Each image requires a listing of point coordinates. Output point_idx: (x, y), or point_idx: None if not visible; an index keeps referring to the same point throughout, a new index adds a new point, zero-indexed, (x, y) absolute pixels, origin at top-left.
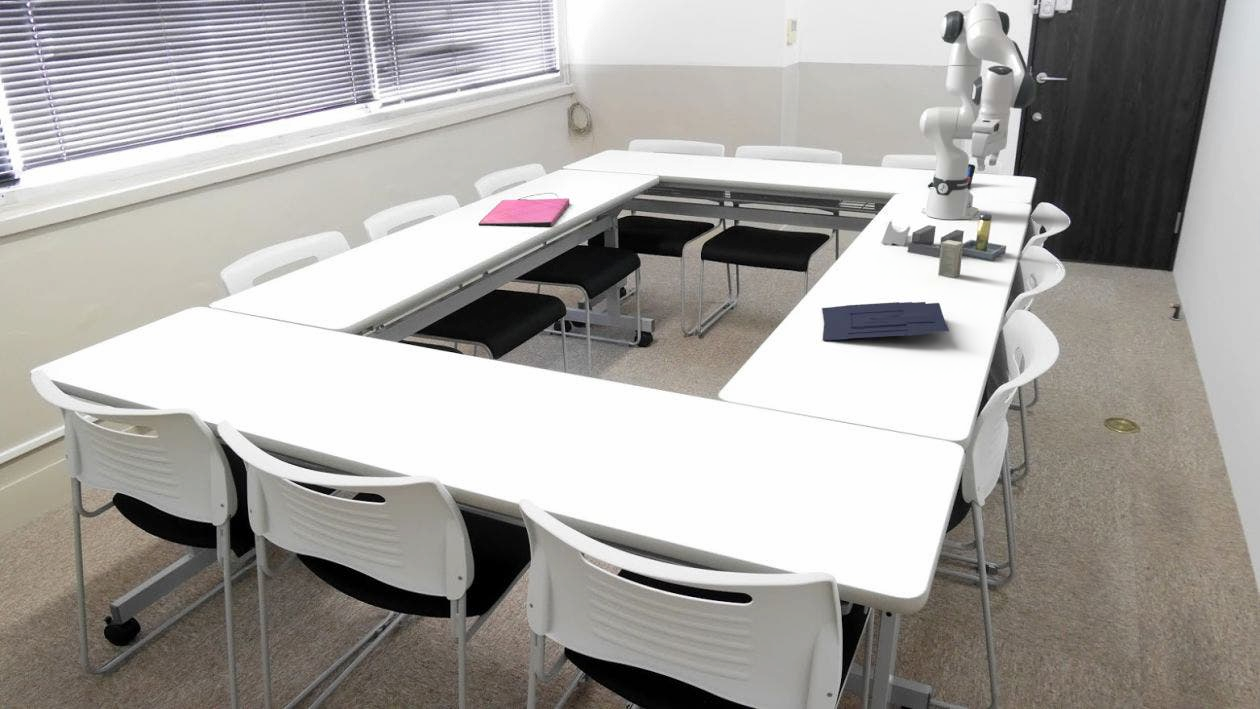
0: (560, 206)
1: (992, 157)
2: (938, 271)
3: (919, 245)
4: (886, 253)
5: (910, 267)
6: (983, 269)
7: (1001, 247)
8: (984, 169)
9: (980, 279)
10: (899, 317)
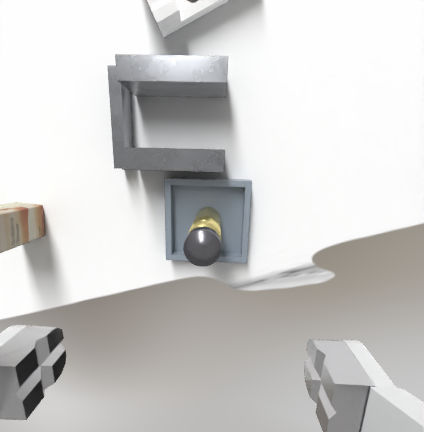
0: None
1: (395, 428)
2: (10, 203)
3: (110, 99)
4: (73, 34)
5: (18, 135)
6: (110, 257)
7: (226, 259)
8: (60, 371)
9: (49, 273)
10: None
